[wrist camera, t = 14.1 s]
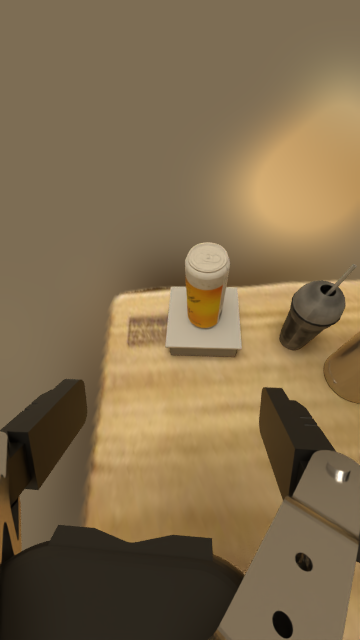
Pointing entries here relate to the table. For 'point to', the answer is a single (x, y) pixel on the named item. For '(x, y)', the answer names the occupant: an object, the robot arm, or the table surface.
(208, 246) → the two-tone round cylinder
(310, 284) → the beverage cup
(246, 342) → the table surface
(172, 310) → the grey square box
